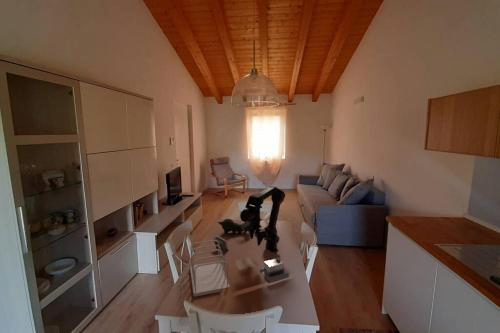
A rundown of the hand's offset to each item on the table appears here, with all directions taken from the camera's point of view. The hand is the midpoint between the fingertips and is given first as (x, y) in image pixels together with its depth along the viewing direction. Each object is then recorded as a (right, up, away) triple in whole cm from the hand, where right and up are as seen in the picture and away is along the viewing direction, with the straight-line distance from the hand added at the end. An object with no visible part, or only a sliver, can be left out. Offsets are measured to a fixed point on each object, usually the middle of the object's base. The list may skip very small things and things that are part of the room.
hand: (255, 242), depth 143 cm
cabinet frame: (+10, -14, -12) cm, 21 cm away
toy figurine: (-14, -6, +41) cm, 44 cm away
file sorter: (-25, -15, -15) cm, 33 cm away
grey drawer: (+10, -13, -12) cm, 20 cm away
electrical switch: (-21, -10, +14) cm, 27 cm away
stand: (-5, -13, -3) cm, 14 cm away
